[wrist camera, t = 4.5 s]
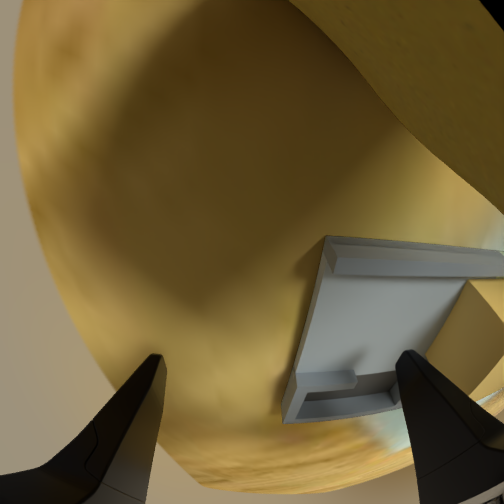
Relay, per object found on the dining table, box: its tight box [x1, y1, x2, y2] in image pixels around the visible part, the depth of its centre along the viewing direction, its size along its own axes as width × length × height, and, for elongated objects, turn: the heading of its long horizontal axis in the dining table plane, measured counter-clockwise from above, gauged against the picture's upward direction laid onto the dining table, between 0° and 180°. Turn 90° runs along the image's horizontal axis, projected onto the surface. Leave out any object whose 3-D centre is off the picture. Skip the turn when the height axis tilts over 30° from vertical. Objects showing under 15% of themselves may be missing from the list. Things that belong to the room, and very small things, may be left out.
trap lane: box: [281, 236, 504, 424], centre depth 11 cm, size 15×11×1 cm
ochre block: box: [425, 278, 504, 402], centre depth 9 cm, size 7×5×4 cm
